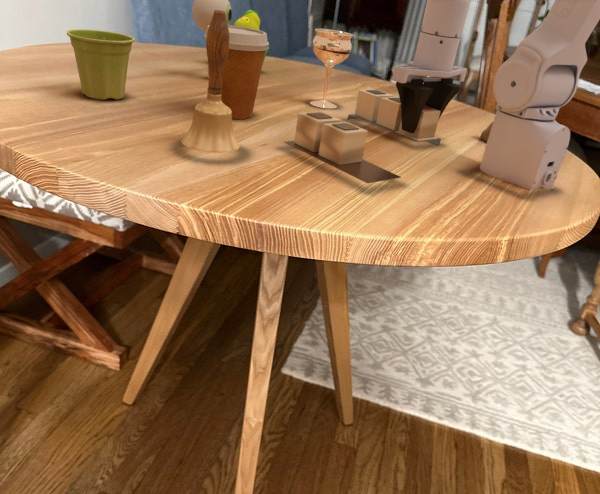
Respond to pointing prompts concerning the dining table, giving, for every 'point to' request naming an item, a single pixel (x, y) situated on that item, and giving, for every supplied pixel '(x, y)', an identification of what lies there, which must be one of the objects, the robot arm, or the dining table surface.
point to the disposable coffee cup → (242, 69)
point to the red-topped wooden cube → (424, 124)
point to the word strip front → (337, 145)
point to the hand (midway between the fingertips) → (417, 130)
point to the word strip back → (383, 112)
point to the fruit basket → (250, 22)
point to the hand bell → (214, 97)
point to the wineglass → (330, 55)
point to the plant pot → (101, 62)
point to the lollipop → (209, 12)
